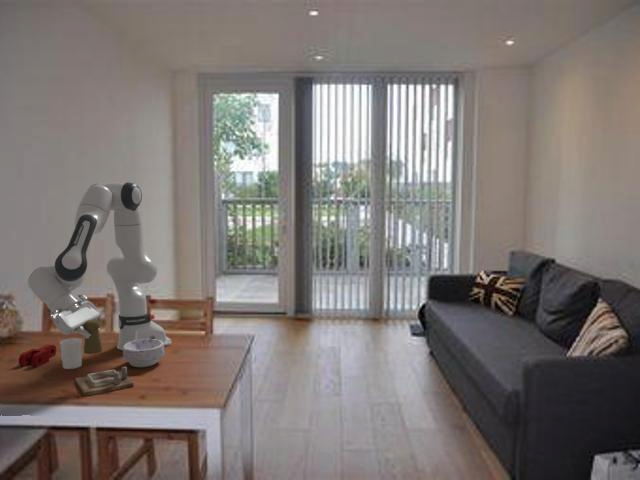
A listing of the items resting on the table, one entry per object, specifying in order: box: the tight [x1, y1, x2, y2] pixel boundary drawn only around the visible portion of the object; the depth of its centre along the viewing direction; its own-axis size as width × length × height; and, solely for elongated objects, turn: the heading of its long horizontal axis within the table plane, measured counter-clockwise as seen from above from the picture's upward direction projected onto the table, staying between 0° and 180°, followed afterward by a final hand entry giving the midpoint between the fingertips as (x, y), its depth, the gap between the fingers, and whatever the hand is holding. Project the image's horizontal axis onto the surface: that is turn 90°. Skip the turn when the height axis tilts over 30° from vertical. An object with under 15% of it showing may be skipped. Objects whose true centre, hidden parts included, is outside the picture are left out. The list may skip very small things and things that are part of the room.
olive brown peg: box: [83, 319, 103, 355], centre depth 194 cm, size 6×6×11 cm
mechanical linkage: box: [18, 344, 57, 368], centre depth 220 cm, size 16×7×5 cm, turn 170°
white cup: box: [59, 337, 83, 370], centre depth 214 cm, size 8×8×10 cm
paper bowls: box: [122, 339, 165, 368], centre depth 217 cm, size 15×15×8 cm
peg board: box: [75, 366, 135, 397], centre depth 196 cm, size 16×16×5 cm
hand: (94, 334), depth 194 cm, fingers closed on olive brown peg, 4 cm apart
